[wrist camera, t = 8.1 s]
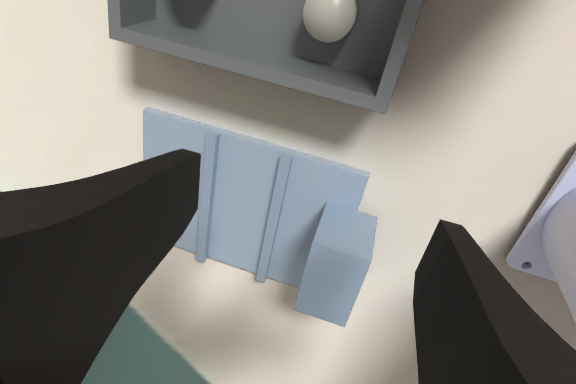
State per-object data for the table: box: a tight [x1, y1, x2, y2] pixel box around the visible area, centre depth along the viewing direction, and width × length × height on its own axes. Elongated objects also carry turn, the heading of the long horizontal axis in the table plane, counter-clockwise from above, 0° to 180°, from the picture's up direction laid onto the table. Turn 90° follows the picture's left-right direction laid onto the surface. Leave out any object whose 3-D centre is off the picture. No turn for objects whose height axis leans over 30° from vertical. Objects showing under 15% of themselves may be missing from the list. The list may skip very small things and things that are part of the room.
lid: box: [143, 107, 377, 327], centre depth 24 cm, size 15×10×5 cm, turn 78°
